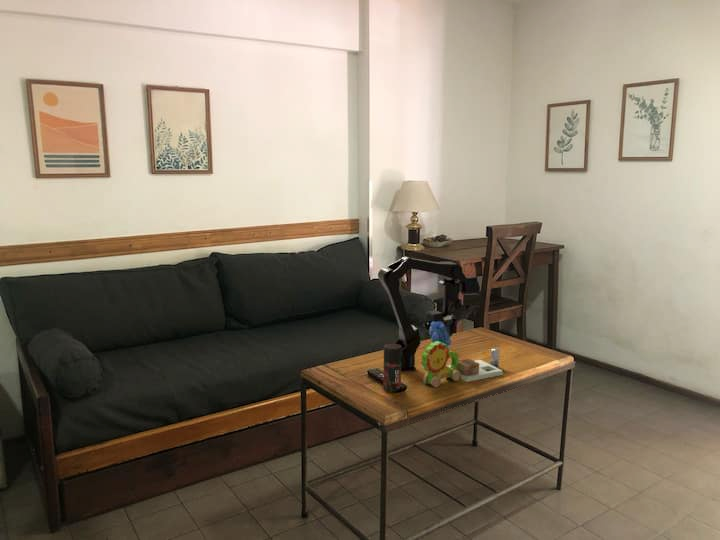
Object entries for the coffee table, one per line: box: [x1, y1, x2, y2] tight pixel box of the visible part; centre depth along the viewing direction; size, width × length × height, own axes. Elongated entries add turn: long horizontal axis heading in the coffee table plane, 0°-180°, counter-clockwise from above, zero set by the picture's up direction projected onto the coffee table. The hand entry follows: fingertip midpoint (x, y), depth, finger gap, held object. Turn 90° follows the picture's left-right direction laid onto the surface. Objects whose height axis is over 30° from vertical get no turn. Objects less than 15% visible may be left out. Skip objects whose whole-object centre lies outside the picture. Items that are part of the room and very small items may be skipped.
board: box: [446, 359, 504, 383], centre depth 213 cm, size 16×13×2 cm
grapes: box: [428, 321, 452, 348], centre depth 238 cm, size 12×7×12 cm, turn 40°
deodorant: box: [382, 343, 402, 392], centre depth 197 cm, size 6×6×15 cm
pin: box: [489, 347, 500, 369], centre depth 218 cm, size 3×3×7 cm
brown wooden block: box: [458, 358, 479, 376], centre depth 208 cm, size 6×6×4 cm
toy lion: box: [421, 341, 461, 388], centre depth 202 cm, size 16×5×15 cm, turn 126°
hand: (450, 335), depth 221 cm, fingers closed
